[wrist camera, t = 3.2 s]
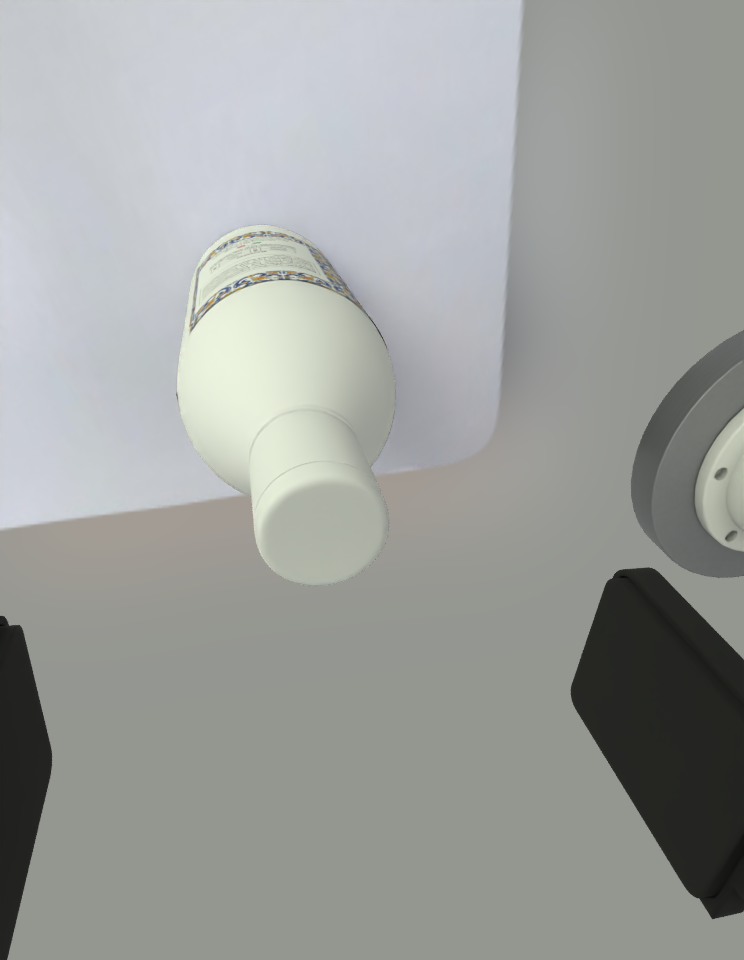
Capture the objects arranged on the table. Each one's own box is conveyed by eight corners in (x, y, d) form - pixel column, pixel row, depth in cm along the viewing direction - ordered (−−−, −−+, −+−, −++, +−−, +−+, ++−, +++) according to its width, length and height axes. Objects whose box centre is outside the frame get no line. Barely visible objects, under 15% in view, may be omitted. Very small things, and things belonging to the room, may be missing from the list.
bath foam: (313, 383, 33) (414, 669, 16) (177, 348, 31) (126, 640, 14) (355, 250, 30) (532, 427, 13) (208, 200, 28) (193, 338, 11)
